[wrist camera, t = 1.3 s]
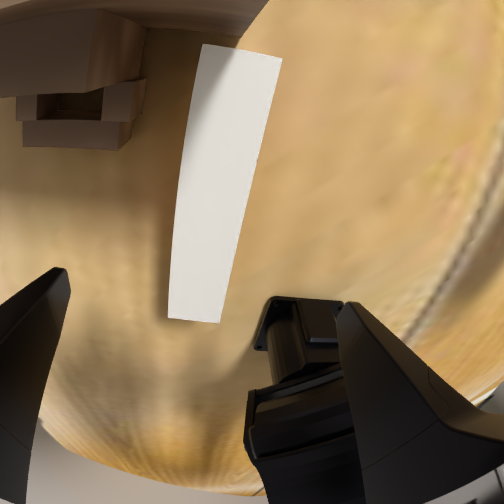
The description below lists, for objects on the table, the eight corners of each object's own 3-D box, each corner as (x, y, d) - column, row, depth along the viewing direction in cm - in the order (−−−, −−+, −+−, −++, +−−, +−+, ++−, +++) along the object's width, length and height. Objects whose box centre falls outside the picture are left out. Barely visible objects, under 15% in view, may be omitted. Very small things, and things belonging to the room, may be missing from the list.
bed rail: (218, 269, 21) (219, 323, 17) (176, 264, 21) (167, 317, 17) (264, 60, 14) (282, 58, 10) (208, 49, 13) (203, 43, 9)
